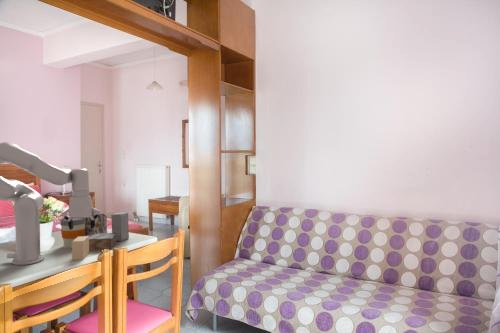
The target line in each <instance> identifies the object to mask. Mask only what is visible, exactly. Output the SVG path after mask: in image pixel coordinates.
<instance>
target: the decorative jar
mask: <svg viewBox="0 0 500 333" xmlns="http://www.w3.org/2000/svg"><path fill="white" fill-rule="evenodd" d="M93 215H94V216H95V215H96V212H95V211H93ZM85 219H86V223H85V236H86V235H88V234H98V233H108V218H107V215H106V214H105V213H104V212H103V211H101V212H100V214H99V216H98V217H97V218H96V219H95V226H94V228H91V218H90V217H85Z"/></svg>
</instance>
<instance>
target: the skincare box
mask: <svg viewBox="0 0 500 333" xmlns="http://www.w3.org/2000/svg"><path fill="white" fill-rule="evenodd" d="M129 226H130V225H129V212H117V213H116V212H115V213H112V214H111V233H117V234H116V242H123V241H125V240H127V239H129V238H130V236H129V235H130V231H129V230H130V229H129Z"/></svg>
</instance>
